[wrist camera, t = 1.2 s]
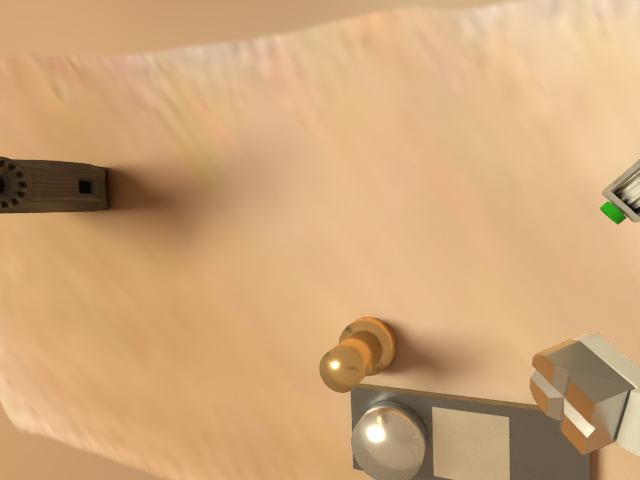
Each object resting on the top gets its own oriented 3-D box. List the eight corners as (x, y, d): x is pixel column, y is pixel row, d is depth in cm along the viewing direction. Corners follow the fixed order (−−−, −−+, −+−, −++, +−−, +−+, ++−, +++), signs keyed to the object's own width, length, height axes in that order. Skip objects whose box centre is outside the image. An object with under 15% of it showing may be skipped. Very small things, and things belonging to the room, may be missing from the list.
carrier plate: (588, 411, 41) (594, 432, 38) (588, 509, 42) (594, 538, 38) (353, 382, 50) (340, 397, 46) (356, 463, 51) (343, 484, 47)
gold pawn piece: (396, 318, 48) (368, 342, 40) (397, 372, 48) (370, 406, 40) (344, 315, 50) (309, 337, 42) (346, 366, 50) (311, 398, 42)
